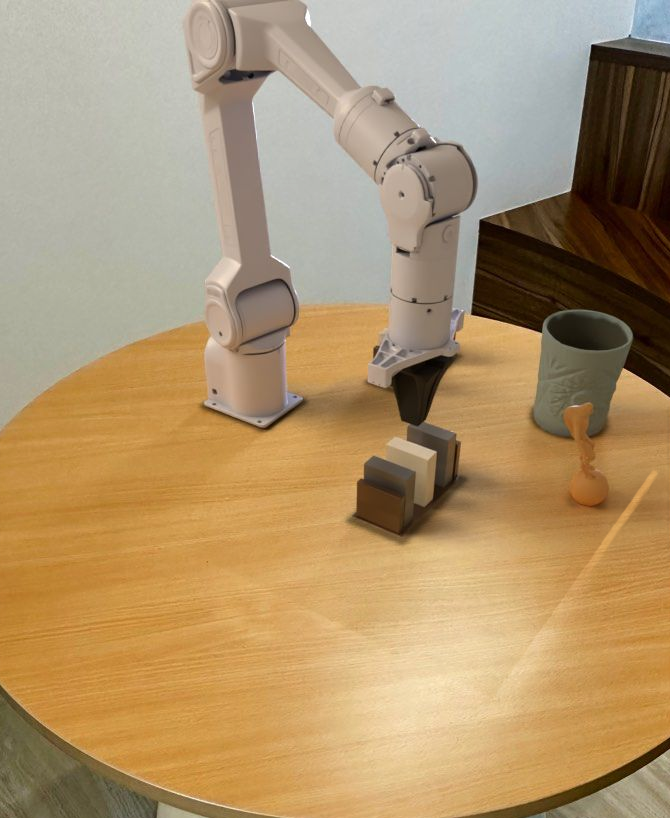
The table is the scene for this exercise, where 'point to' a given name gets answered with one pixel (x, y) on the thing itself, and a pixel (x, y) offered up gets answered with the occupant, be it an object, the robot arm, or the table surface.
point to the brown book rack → (406, 482)
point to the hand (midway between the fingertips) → (413, 420)
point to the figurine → (585, 459)
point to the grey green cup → (579, 367)
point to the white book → (415, 466)
